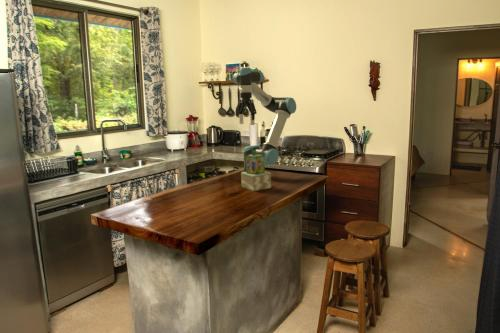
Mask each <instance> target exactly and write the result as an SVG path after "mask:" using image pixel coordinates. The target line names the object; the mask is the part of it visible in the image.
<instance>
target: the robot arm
mask: <svg viewBox="0 0 500 333" xmlns="http://www.w3.org/2000/svg"><path fill="white" fill-rule="evenodd" d="M264 79H265V75H264V73H263V72H262V71H259V70H253V71H252V68H251V67H241V68H239V72H235V73H234V74H233V76H232V81H233V83H234V84H237V85H239V91H240V93H239V94H240V95H239V98H240V99H238V106H237V111H236V113H237V114H238V118H239V122H238V123H239V124H240V125H243V124H244V111H245V109H246V107H247V109H248V111H249V113H250V115H249V117H250V118H249V119H250V126H255V125H256V124H255V119H256V117H255V115H256V114H257V109H256V105H255V102H254V99H252V97H254V98H255V99H257V100H258V101H259V102H260V105H261V106H262V107H263V108H264V109H266V110H268V112H269V111H270V112H271V113H275V117H274V120H273V121H272V124H271V127H270V130H269V132H268V134H267V137H266V140H265V142H263V143H262V144H261V147H260V145H258V144H256V145H247V146H245V147H244V148H243V165H244V167H243V170H242V172H246V156H247V155H251V154H252V150H256V153H257V154H260V155H264V162H265V165H266V166H272V165H274V164H276V163H277V161H278V160H279V151H278V147H277V146H278V144H279V141H280V139H281V135H282V133H283V130H284V128H285V124H286V122H287V119H289V118H290V117H291V115H292V114H295V112H296V110H297V103H296V100H295V99H294V98H293V97H290V96H289V97H288V96H287V97H276V96H275V97H274V96H272V95H270V94H267V93H266V92H265V91H264V90H263V89H262V88H261V87H260V86H259V85H258V83H262V82H264ZM253 153H254V154H255V152H253Z"/></svg>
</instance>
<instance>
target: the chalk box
mask: <svg viewBox="0 0 500 333" xmlns="http://www.w3.org/2000/svg"><path fill="white" fill-rule="evenodd" d="M253 152H255V154H254V153H253ZM265 168H266V167H265V162H264V155H260V154H257V153H256V150H252V154H251V155H247V156H246V173H252V174H259V173H263V172H265V170H266V169H265Z"/></svg>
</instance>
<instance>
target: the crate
mask: <svg viewBox="0 0 500 333" xmlns="http://www.w3.org/2000/svg"><path fill="white" fill-rule="evenodd" d="M240 180H241V182H240V183H241V188H243V189H244V190H245V189H246V190H248V191H251V192H257V191H262V190H268V189H271V188H272V174H268V175H262V176H256V177H251V176H247V175H244V174H241V173H240Z"/></svg>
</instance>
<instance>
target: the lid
mask: <svg viewBox="0 0 500 333" xmlns="http://www.w3.org/2000/svg"><path fill="white" fill-rule="evenodd" d="M241 174H244V175H247V176H251V177H256V176H262V175H268V174H271V172H269V171H265V172H263V173H259V174H252V173H246V172H243V171H242V172H240V175H241ZM271 175H272V174H271Z"/></svg>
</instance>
